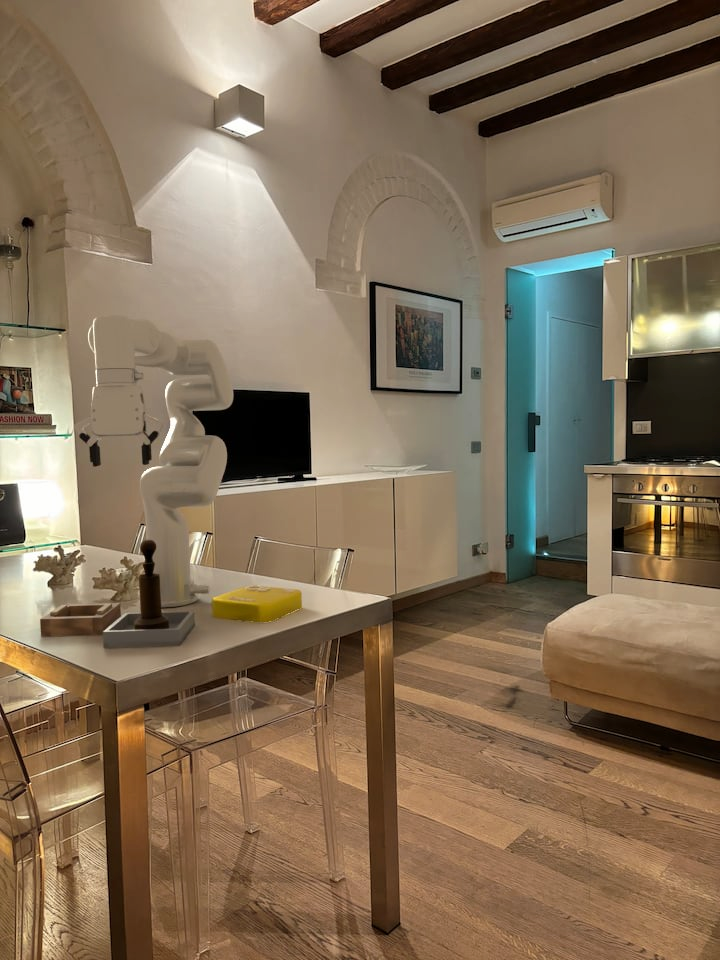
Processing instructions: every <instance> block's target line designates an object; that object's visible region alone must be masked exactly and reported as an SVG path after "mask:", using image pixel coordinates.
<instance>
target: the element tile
mask: <svg viewBox="0 0 720 960" xmlns="http://www.w3.org/2000/svg"><path fill="white" fill-rule="evenodd" d="M302 602H303V600H302V591H301V590H300V589H293V588H291V589H290V588H282V587H273V586H272V587H271V586H264V585H263V586H262V585H259V584H254V585H252V584H251V585H247V586H244V587H241V588H238V589H234V590H231V591H230V592H229V591H228V592H226V593H223V594H220V595H218V596H214V597H212V599H211V609H212V611H211V612H212V613H211V614H212V615H211V616H212V618H215V619H220V620H221V619H223V620H229V619H231V620H230V621H237V620H241V621H240V622H245V621H253V622H269V621H273V620H275V619H277V618H280V617H282V616H284V615H286V614H288V613H291V612H293V611H295V610H297V609H300V608H301V607H302V606H303V605H302V604H303V603H302ZM284 617H285V616H284ZM282 618H283V617H282ZM280 619H281V618H280ZM277 620H278V619H277ZM275 621H276V620H275ZM253 622H252V623H253ZM273 622H274V621H273ZM269 623H270V622H269Z"/></svg>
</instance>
